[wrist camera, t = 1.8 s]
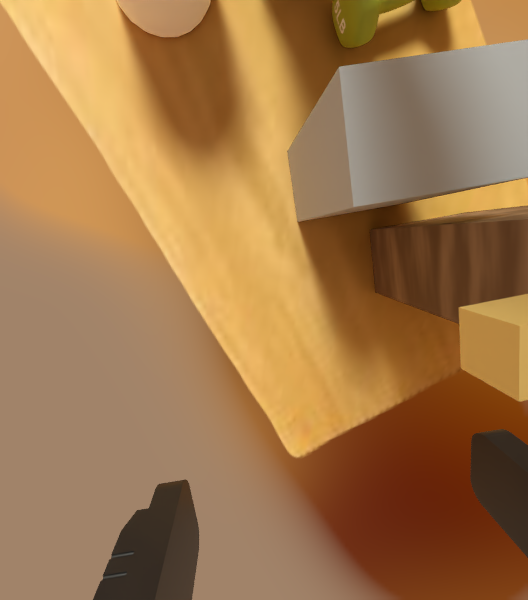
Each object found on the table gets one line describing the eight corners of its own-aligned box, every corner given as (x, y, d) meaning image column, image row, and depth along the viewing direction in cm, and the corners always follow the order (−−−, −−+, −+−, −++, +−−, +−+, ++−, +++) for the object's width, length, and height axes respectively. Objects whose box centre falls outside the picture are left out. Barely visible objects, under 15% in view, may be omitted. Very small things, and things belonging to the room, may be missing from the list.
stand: (375, 292, 49) (621, 385, 18) (369, 229, 47) (636, 211, 16) (468, 274, 50) (855, 333, 19) (466, 212, 48) (898, 163, 17)
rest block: (297, 222, 46) (353, 207, 24) (287, 151, 44) (339, 66, 22) (398, 204, 47) (538, 175, 25) (393, 134, 45) (541, 37, 23)
